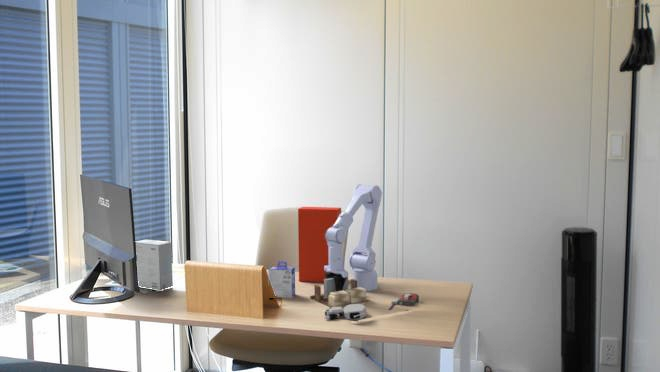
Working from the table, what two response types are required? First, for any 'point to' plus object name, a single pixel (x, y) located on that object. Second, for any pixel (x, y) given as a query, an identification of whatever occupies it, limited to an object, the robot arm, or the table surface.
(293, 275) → the ink cartridge box
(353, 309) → the robot toy
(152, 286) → the hard drive box
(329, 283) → the grey rectangular slab
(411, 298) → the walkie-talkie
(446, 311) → the table surface
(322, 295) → the walnut rack
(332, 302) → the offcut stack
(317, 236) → the file binder
